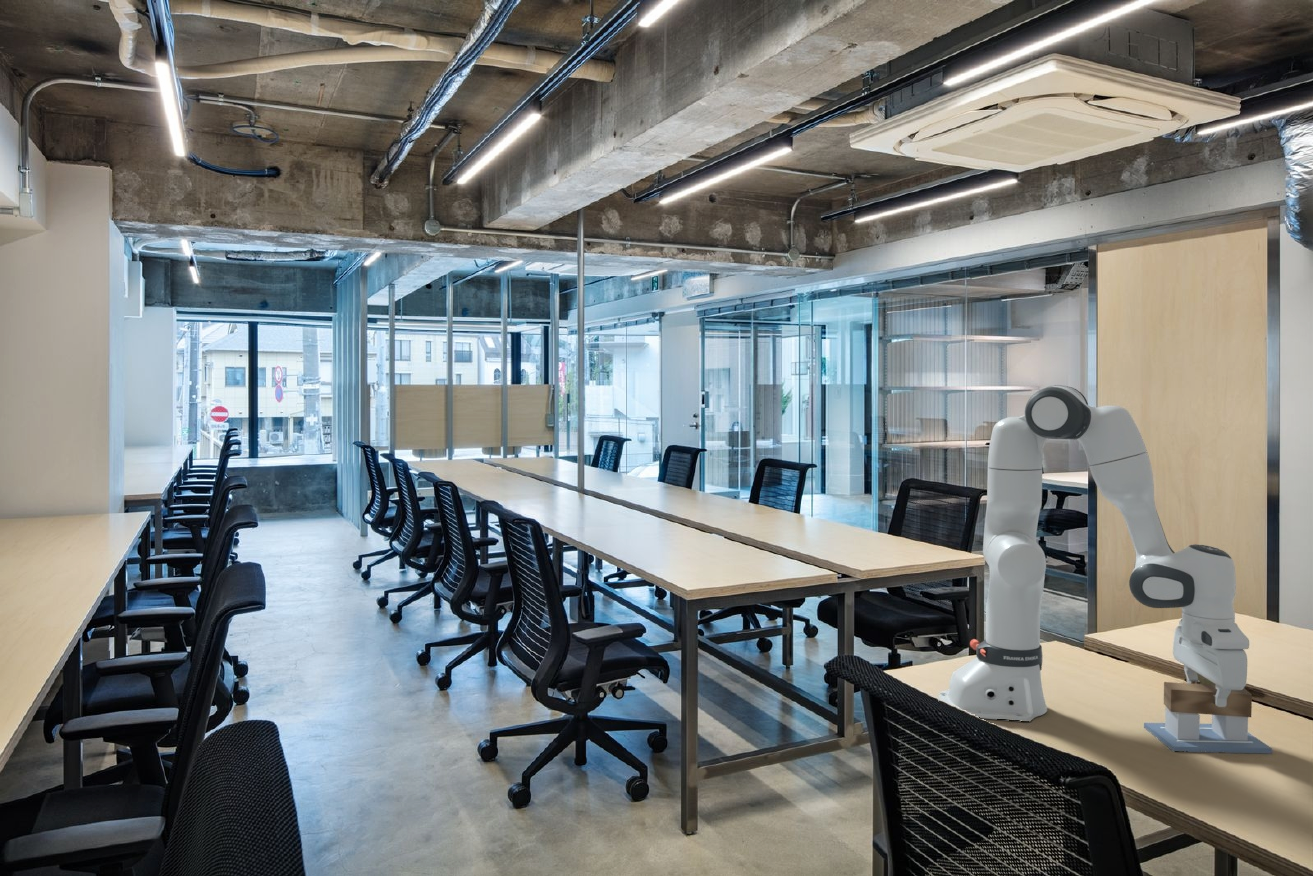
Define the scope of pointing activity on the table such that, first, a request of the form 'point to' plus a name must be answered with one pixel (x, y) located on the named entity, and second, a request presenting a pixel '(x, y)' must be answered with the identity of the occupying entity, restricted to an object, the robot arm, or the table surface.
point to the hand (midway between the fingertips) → (1206, 697)
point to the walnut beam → (1205, 700)
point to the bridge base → (1206, 734)
